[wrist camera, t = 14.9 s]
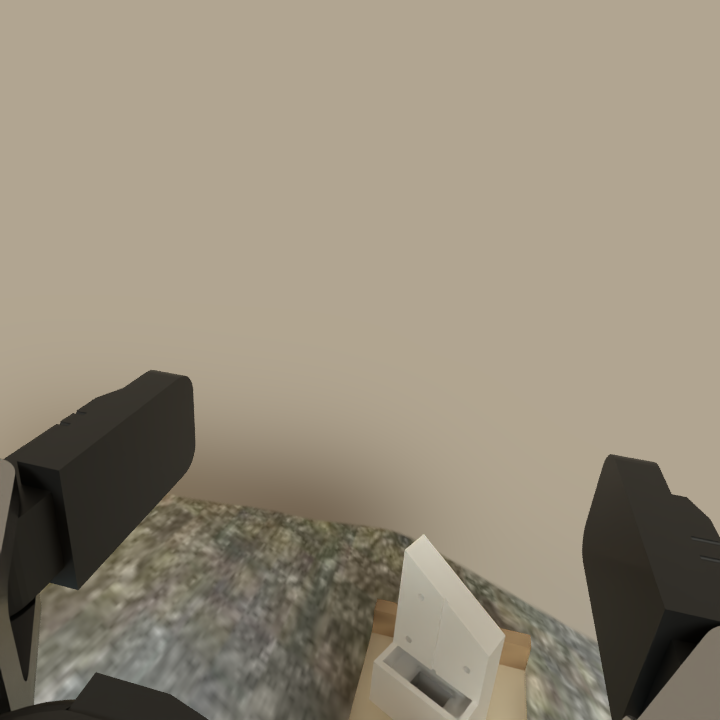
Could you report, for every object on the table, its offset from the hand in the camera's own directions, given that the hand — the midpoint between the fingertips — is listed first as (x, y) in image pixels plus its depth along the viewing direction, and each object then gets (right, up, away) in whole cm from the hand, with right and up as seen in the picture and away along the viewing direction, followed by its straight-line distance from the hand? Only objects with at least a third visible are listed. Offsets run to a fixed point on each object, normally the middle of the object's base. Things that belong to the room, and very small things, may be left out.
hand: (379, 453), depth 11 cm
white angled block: (+4, -19, +22) cm, 29 cm away
